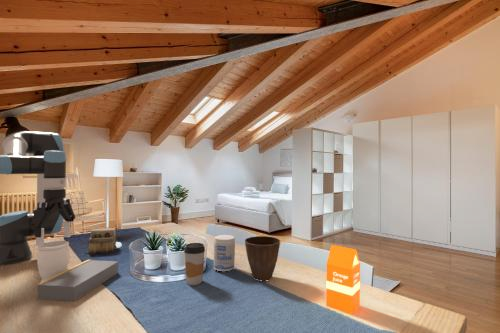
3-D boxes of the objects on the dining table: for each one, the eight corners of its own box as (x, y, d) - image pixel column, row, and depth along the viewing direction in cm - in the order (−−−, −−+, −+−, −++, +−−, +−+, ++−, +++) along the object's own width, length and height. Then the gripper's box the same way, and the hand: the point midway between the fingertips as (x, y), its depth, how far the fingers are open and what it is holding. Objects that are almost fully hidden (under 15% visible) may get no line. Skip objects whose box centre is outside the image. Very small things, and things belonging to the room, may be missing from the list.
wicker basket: (89, 247, 160) (90, 227, 160) (116, 245, 165) (117, 226, 165) (83, 255, 146) (83, 233, 146) (112, 253, 150) (113, 232, 150)
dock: (88, 271, 124) (88, 259, 124) (118, 272, 123) (118, 260, 123) (37, 298, 98) (37, 283, 98) (74, 301, 97) (74, 285, 97)
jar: (52, 287, 108) (52, 248, 108) (30, 285, 110) (30, 246, 110) (74, 276, 118) (75, 241, 118) (54, 274, 120) (54, 239, 120)
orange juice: (335, 297, 101) (335, 242, 101) (360, 305, 96) (360, 247, 96) (325, 305, 95) (326, 247, 95) (351, 314, 90) (352, 252, 90)
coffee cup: (208, 280, 116) (209, 244, 116) (196, 288, 108) (197, 249, 108) (192, 276, 119) (192, 241, 119) (179, 284, 112) (179, 246, 112)
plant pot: (238, 280, 115) (238, 242, 115) (254, 269, 129) (254, 234, 129) (271, 288, 108) (271, 247, 109) (284, 275, 122) (285, 238, 122)
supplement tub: (216, 274, 122) (217, 240, 122) (211, 267, 131) (211, 235, 131) (237, 271, 126) (237, 238, 126) (230, 264, 135) (231, 233, 135)
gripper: (36, 191, 101) (35, 250, 101) (84, 186, 126) (84, 234, 126) (17, 190, 102) (17, 249, 102) (69, 186, 127) (68, 233, 127)
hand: (54, 241), depth 114 cm, fingers open, 13 cm apart
